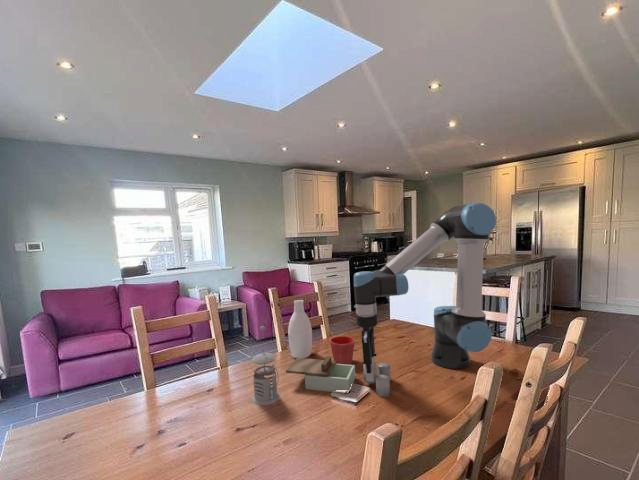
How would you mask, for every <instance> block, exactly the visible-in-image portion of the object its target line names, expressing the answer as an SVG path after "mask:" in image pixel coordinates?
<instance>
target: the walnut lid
mask: <svg viewBox="0 0 639 480" xmlns="http://www.w3.org/2000/svg"><path fill="white" fill-rule="evenodd" d="M335 364H336V361H334V360H332V356H331V355H327V356H326V357H325V358H324V359H319V358H316V359H314V358H295V360H294V361H293V362H292V363H291V364H290V365H289V366H288V368H287V369H286V370H285V373H288V374H296V375H298V374H299V375H304V376H305V375H316V376H327V377H328V375H329V373H330V372H331V370H332V368H333V367H334V365H335Z"/></svg>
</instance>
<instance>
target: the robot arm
mask: <svg viewBox="0 0 639 480" xmlns="http://www.w3.org/2000/svg"><path fill="white" fill-rule="evenodd" d="M496 226H497V217H496V213H495V211H494V210H493V208H491V207H490V206H489V205H487V204H485V203H482V202H472V203H471V202H470V203H466V204H461V205H456V206H453V207H451V208H449V209H447V210H446V211H445V212H444V213H442V215H440V216H439V217H438V218H436V219H435V220H434V221H433V222H431V223H430V228H429V229H427V230H426V231H424V233H422V234H421V235H420V236H419V237H417V238H416V239H415V240H413V242H412V243H410V244H409V245H408V246H407V247H405V248H404V249H403V250H402V251H400V252H399V253H398V254H397V255H396V256H394V257H393V258H392V259H391V260H390V261H389V262H387V263H386V264H385V265H383V266H382V267H381V268H380V269H376V270H373V271H372V270H371V271H369V270H367V271H358V272H357V271H356V272H355V273H354V274H353V291H354V302H355V305H353V308H355V314H356V317H355V318H356V325H357V327H359V328H362V331H361V339H360V340H361V343H362V344H361V346H362V357H363V361H362V365H363V364H365V372H366V381H371V382H374V373H373V363H375V364H376V360H375V359H376V358H375V357H377V353H376V350H375V349H376V347H375V346H376V345H375V334H374V332H375V330H374V328H375V327H376V326H378V315H377V314H378V311H377V310H378V308H377V306H378V305H377V298H380V297H382V298H383V297H394V296H395V297H396V296H403V295H406V294H408V292H409V281H408V280H409V279H408V278H407V275H405V274H406V273H407V272H408V271H409V270H410V269H412V268H413V267H414V266H416V265H417V264H418V263H419V262H420V261H422V260H423V259H424V258H426V256H428V254H430V253H432V252H433V251H434V250H435V249H437V247H438V246H440V245H441V244H442V243H445V242H449V241H450V240H452V239H454V241H456V243H457V247H458V248H457V265H456V266H457V269H456V272H457V273H456V274H457V275H456V294H455V295H456V297H455V299H456V301H455V305H443V306H437V307H435V308H434V309H433V323H434V324H433V327H434V328H433V329H434V344H433V346H432V351H431V353H430V354H431V355H430V357H431V362H432V363H433V364H435V365H436V366H439V367H442V368H445V369H451V370H453V369H455V370H456V369H465V368H468V367H470V365H471V356H470V353H469V352H472V353H477V352H478V353H479V352H481V351H484V350H485V348H487V347H488V346H489V345H490V343H491V340H492V339H493V337H492V336H493V335H492V334H493V333H492V329H491V328H490V327H489V325H488V324H487V323H486V317H487V316H486V315H487V314H486V312H484V311H483V310H482V301H483V300H482V299H483V298H482V297H483V275H484V274H483V272H484V271H483V270H484V247H485V244H486V243H488V242H489V238H490V237H489V236H490V233H491V232H492V231H493V230H494V229H495V227H496Z"/></svg>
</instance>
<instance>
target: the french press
mask: <svg viewBox="0 0 639 480" xmlns="http://www.w3.org/2000/svg"><path fill="white" fill-rule="evenodd" d="M259 330H260V331H261V334H262V338H264V330H266V327H265V326H264V325H260V327H259ZM264 347H265V345H264V342H262V351H263V352H262V353H258V354H256V355H255V356H254V357H253V358H252V359H251V361H252V363H253V364H255V365H261V366H259V367H256V368H255V369H254V371H253V372H254V374H253V386H254V387H253V390H254V391H253V393H254V395H253V396H252V397H251V402H252V403H253V404H255V405H257V406H268V405H272V404H274V403H276V402H278V401H279V399H280V398H281V394H280V393H279V392H278V384H279V378H277V376H279V372H278V370H277V368H276V366H275V364H272V365H267V364H271V363H273V362H274V361H275V360H276V358H277V357H276V355H275V354H273V353H270V352H265V348H264ZM266 376H267V377H266ZM269 376H270V377H269ZM271 379H272V380H271Z"/></svg>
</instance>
